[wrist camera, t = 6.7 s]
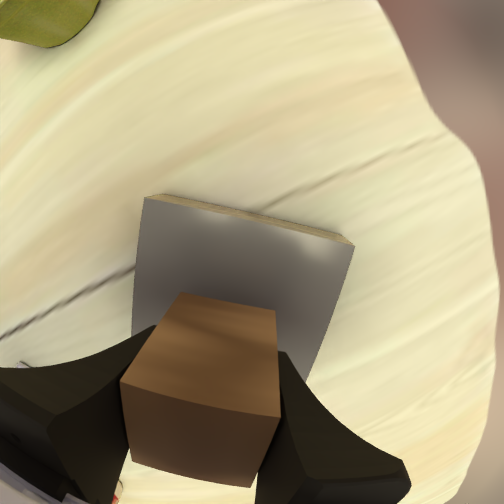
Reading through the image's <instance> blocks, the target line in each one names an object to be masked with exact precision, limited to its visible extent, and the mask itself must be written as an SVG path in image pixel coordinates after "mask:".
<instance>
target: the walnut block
mask: <svg viewBox="0 0 504 504" xmlns="http://www.w3.org/2000/svg"><path fill="white" fill-rule="evenodd" d="M120 390H121V398H122V406H123V413H124V420H125V426H126V432H127V437H128V443H129V448H130V453H131V458H132V461H133V462H136V463H139V464H142V465H145V466H148V467H151V468H155V469H158V470H162V471H165V472H169V473H173V474H177V475H181V476H185V477H189V478H194V479H198V480H203V481H208V482H214V483H219V484H225V485H232V486H239V487H247V488H250V487H251V485H252V483H253V481H254V479H255V477H256V474H257V472H258V470H259V468H260V466H261V463H262V461H263V459H264V457H265V454H266V452H267V450H268V447H269V445H270V442H271V440H272V438H273V435H274V433H275V430H276V428H277V425H278V423H279V420H280V418H281V413H280V390H279V369H278V349H277V331H276V313H275V310H269V309H264V308H258V307H253V306H248V305H242V304H237V303H232V302H227V301H222V300H217V299H212V298H208V297H203V296H198V295H194V294H189V293H184V292H180V294H179V295H178V296H177V298H176V299H175V301H174V302H173V303H172V305H171V306H170V308H169V309H168V311H167V312H166V313H165V315H164V316H163V318H162V319H161V321H160V322H159V323H158V325H157V326H156V328H155V329H154V331H153V332H152V334H151V335H150V337H149V338H148V339H147V341H146V342H145V344H144V345H143V347H142V348H141V350H140V351H139V353H138V354H137V356H136V357H135V359H134V360H133V362H132V363H131V365H130V366H129V368H128V369H127V371H126V372H125V374H124V375H123V377H122V378H121V380H120Z"/></svg>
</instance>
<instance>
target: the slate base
mask: <svg viewBox="0 0 504 504" xmlns="http://www.w3.org/2000/svg"><path fill="white" fill-rule="evenodd" d="M354 248H355V246H354V245H353V244H352V243H351V242H349V241H348V240H347V239H346V238H345V237H343V236H342V235H339V234H335V233H332V232H328V231H324V230H320V229H316V228H312V227H308V226H304V225H300V224H296V223H292V222H288V221H284V220H280V219H275V218H271V217H267V216H263V215H258V214H254V213H250V212H245V211H241V210H237V209H232V208H228V207H223V206H219V205H214V204H209V203H205V202H200V201H195V200H190V199H186V198H181V197H176V196H171V195H166V194H160V195H155V196H149V197H144V204H143V210H142V217H141V224H140V232H139V240H138V248H137V257H136V267H135V279H134V292H133V308H132V331H131V337H132V336H134V335H136V334H138V333H139V332H141V331H143V330H145V329H146V328H148V327H150V326H152V325H158V323H159V322H160V321H161V319H162V318H163V316H164V315H165V313H166V312H167V311H168V309H169V308H170V306H171V305H172V303H173V302H174V301H175V299H176V298H177V296H178V295H179V294H180V292H184V293H189V294H194V295H198V296H203V297H208V298H212V299H217V300H222V301H227V302H232V303H237V304H242V305H248V306H253V307H258V308H264V309H269V310H275V313H276V331H277V349H278V351H283V352H286V353H287V354H288V356H289V358H290V359H291V361H292V363H293V365H294V366H295V368H296V370H297V371H298V373H299V374H300V376H301V377H302V379H303V380H304V382H306V380H307V378H308V375H309V373H310V371H311V368H312V366H313V363H314V361H315V359H316V356H317V354H318V351H319V349H320V346H321V344H322V341H323V338H324V336H325V333H326V331H327V328H328V325H329V323H330V320H331V317H332V315H333V312H334V309H335V306H336V303H337V301H338V298H339V295H340V292H341V289H342V286H343V283H344V280H345V277H346V274H347V271H348V268H349V264H350V261H351V258H352V255H353V252H354Z"/></svg>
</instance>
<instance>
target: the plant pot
mask: <svg viewBox="0 0 504 504" xmlns="http://www.w3.org/2000/svg"><path fill="white" fill-rule="evenodd" d="M99 1H100V0H0V38H2V39H7V40H13V41H18V42H23V43H27V44H32V45H36V46H40V47H44V48H48V47H52V46H56V45H60V44H63V43H64V42H66V41H68V40H69V39H71V38H72V37H73V36H74V35H76V34H77V33H78V32H79V31H80V30H81V29H82V28H83V27H84V26H85V25H86V24H87V23H88V21H89V20H90V19H91V17H92V16H93V13H94V10H95V7H96V5H97V3H98V2H99Z"/></svg>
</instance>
